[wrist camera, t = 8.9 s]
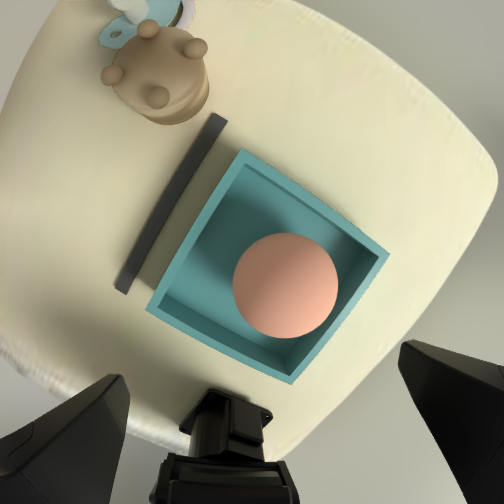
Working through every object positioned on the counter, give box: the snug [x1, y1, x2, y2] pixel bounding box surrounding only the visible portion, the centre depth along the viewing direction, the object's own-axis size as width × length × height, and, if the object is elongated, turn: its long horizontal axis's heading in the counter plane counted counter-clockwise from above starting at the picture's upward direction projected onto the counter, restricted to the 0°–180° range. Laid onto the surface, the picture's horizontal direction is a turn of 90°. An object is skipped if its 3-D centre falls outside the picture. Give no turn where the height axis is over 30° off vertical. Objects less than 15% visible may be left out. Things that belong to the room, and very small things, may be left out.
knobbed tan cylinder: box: [101, 19, 209, 125], centre depth 14 cm, size 5×5×6 cm
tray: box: [145, 148, 390, 385], centre depth 18 cm, size 11×11×3 cm
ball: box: [232, 233, 338, 338], centre depth 16 cm, size 6×6×6 cm
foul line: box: [115, 114, 228, 295], centre depth 18 cm, size 14×1×1 cm, turn 147°
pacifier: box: [99, 0, 195, 49], centre depth 12 cm, size 7×6×6 cm
